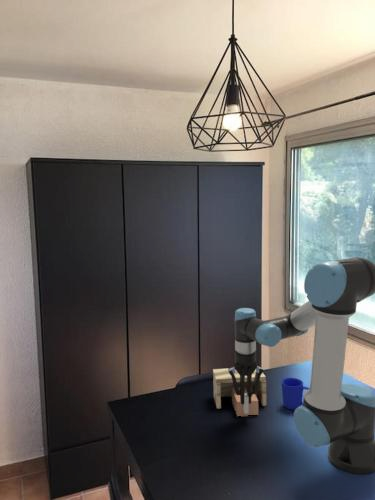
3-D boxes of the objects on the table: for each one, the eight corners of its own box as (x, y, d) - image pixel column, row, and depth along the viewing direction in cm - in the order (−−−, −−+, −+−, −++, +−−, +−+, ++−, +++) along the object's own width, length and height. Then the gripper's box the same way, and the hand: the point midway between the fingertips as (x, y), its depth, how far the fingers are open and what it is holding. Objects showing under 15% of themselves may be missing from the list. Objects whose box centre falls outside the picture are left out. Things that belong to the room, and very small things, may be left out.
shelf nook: (266, 405, 172) (266, 377, 170) (217, 408, 170) (216, 380, 169) (259, 393, 182) (259, 366, 181) (213, 395, 181) (212, 369, 180)
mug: (307, 416, 162) (307, 391, 161) (277, 407, 170) (277, 383, 168) (315, 407, 169) (316, 383, 168) (286, 399, 176) (286, 375, 175)
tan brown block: (258, 415, 164) (258, 400, 164) (237, 417, 164) (237, 401, 163) (251, 400, 176) (251, 386, 175) (231, 402, 176) (231, 387, 175)
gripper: (260, 346, 163) (260, 405, 166) (226, 348, 162) (226, 407, 165) (265, 353, 156) (265, 415, 159) (229, 355, 155) (230, 417, 158)
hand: (245, 411), depth 162 cm, fingers closed
